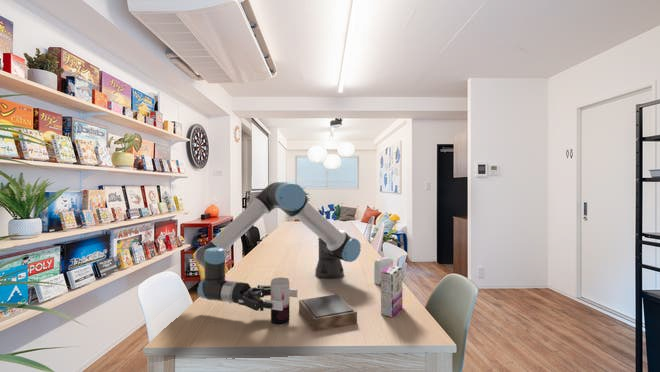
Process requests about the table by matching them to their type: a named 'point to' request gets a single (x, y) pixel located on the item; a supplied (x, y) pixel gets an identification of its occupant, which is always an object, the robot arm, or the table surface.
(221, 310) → the table surface
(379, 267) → the photo printer
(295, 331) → the table surface
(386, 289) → the candy bar box
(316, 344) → the table surface
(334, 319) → the walnut stand
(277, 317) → the beverage can
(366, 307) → the table surface
